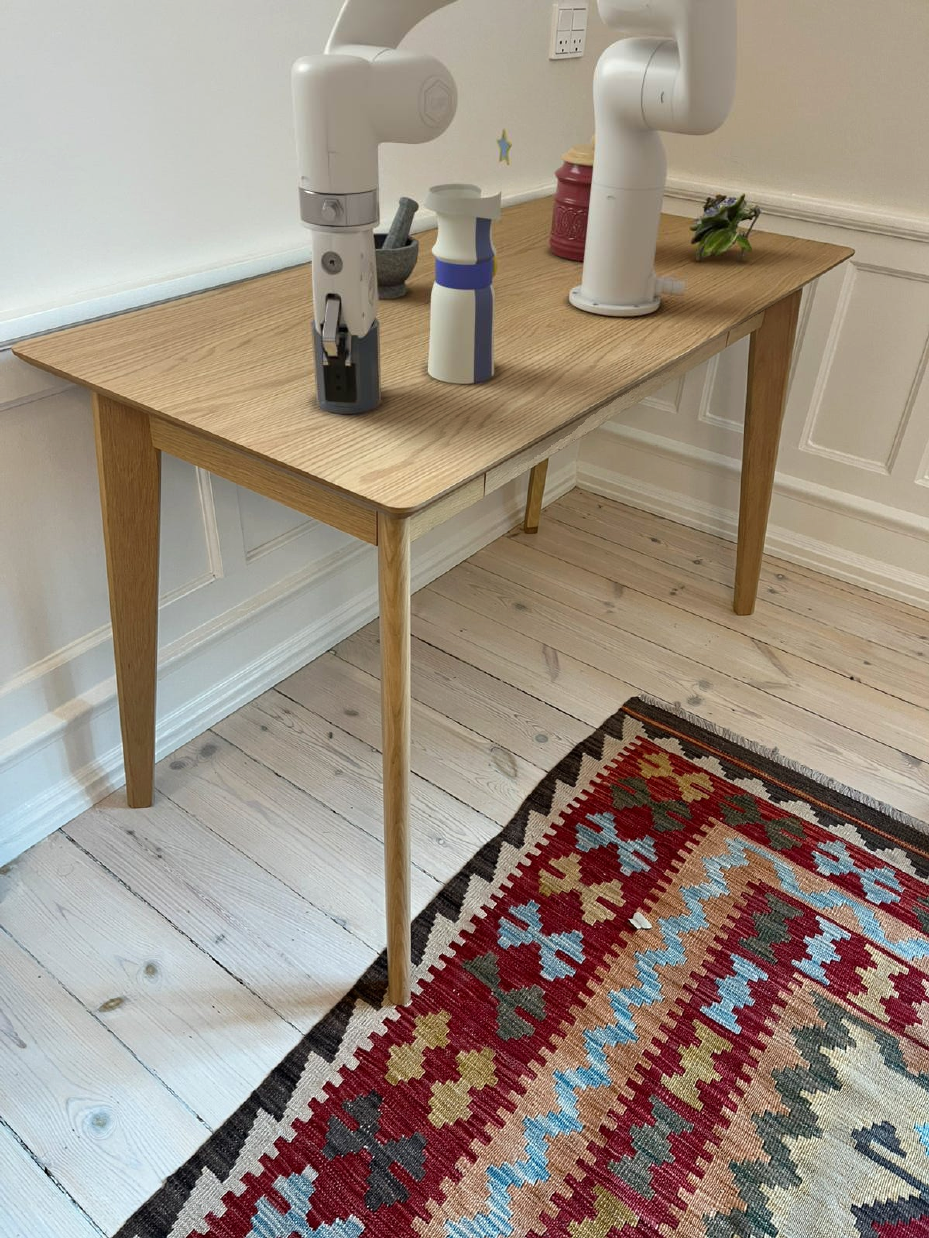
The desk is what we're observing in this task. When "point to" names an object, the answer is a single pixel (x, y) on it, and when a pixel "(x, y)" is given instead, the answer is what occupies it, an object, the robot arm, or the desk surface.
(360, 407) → the blue cup
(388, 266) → the mortar and pestle
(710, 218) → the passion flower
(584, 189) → the kitchen canister
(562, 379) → the desk surface
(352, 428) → the desk surface
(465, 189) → the water bottle
